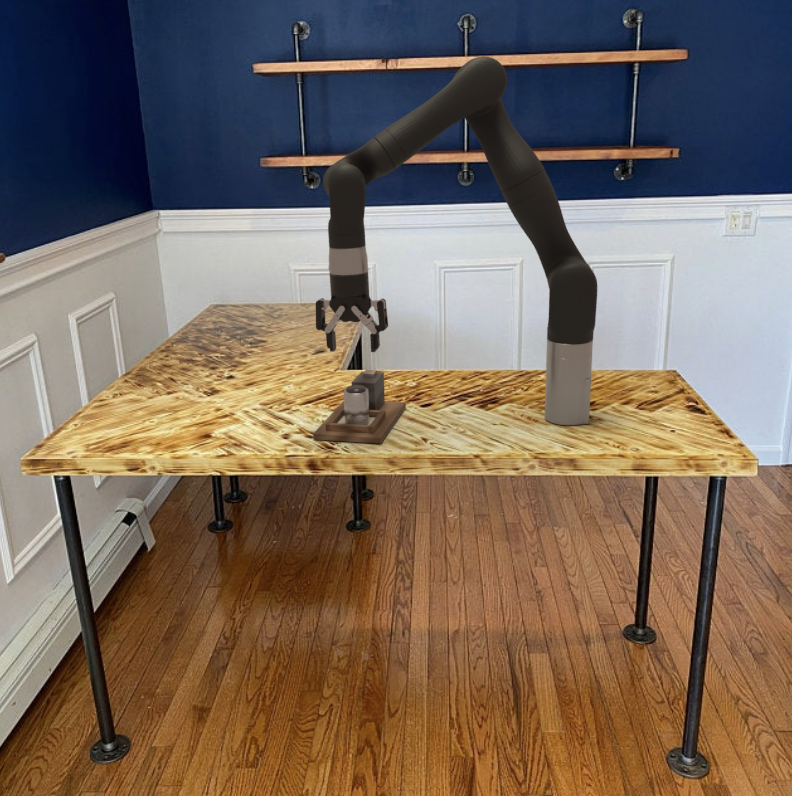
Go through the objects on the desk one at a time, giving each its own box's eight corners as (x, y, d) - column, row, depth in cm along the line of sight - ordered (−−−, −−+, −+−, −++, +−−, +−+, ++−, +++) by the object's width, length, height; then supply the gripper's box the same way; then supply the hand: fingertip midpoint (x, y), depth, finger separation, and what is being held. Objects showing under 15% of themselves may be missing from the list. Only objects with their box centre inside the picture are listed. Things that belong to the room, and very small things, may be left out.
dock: (405, 407, 183) (404, 368, 180) (381, 443, 163) (379, 400, 160) (345, 404, 186) (343, 365, 183) (313, 439, 166) (310, 396, 163)
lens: (372, 419, 172) (371, 385, 170) (364, 427, 168) (363, 392, 165) (349, 417, 173) (348, 383, 171) (341, 425, 169) (340, 391, 166)
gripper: (388, 266, 162) (392, 346, 167) (319, 266, 165) (325, 345, 171) (379, 273, 155) (383, 356, 160) (307, 273, 159) (313, 355, 164)
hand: (353, 350), depth 165 cm, fingers open, 8 cm apart
